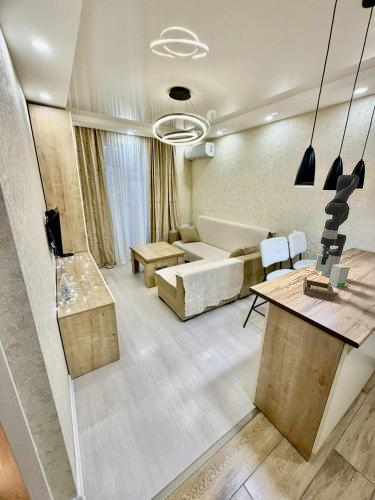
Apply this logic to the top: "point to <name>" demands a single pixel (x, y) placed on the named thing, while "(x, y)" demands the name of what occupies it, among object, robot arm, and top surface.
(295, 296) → the top surface
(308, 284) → the rack
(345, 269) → the skincare box
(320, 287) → the offcut upper
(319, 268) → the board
